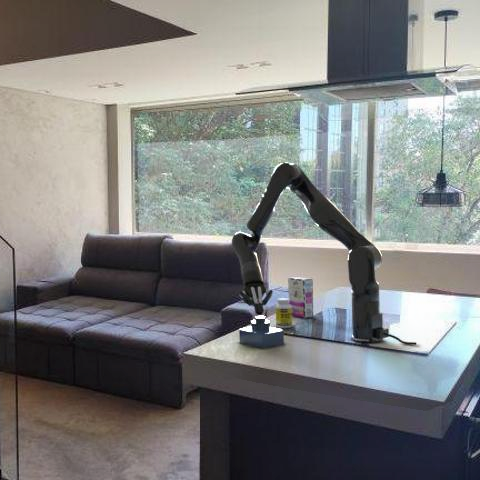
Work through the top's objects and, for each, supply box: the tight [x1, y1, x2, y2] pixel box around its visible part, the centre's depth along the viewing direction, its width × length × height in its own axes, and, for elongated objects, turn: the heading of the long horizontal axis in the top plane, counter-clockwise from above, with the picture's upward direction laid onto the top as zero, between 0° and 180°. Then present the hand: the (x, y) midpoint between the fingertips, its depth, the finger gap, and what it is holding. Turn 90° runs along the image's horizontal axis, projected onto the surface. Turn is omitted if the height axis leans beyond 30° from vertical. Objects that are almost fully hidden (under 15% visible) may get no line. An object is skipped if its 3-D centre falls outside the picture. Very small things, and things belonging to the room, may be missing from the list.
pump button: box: [254, 315, 266, 323], centre depth 213 cm, size 4×4×2 cm
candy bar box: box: [287, 276, 314, 319], centre depth 253 cm, size 11×5×16 cm, turn 24°
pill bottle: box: [275, 297, 293, 329], centre depth 234 cm, size 6×6×11 cm
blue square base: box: [238, 319, 285, 350], centre depth 209 cm, size 12×11×7 cm
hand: (260, 313), depth 212 cm, fingers closed
